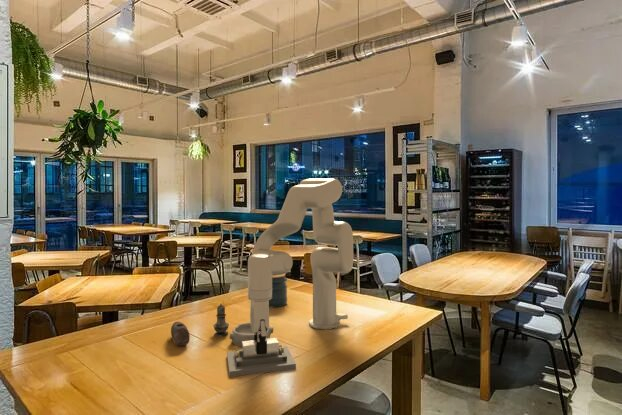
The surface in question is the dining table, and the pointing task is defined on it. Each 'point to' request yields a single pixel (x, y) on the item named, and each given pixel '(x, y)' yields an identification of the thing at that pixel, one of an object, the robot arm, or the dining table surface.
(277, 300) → the canister
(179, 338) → the perforated stone tool
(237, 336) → the dish
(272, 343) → the aluminium bar
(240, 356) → the switch frame
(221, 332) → the dark grey chess piece
